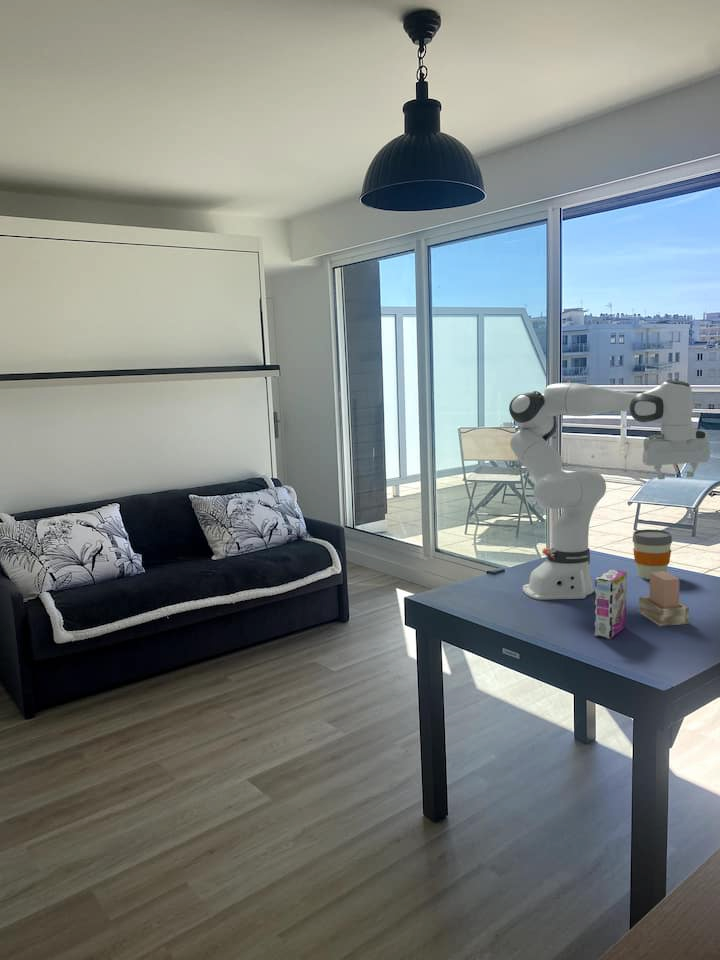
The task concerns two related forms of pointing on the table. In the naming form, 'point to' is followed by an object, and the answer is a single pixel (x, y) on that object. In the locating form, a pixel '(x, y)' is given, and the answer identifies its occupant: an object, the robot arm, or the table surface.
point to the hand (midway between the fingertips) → (675, 478)
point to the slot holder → (663, 613)
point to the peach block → (664, 590)
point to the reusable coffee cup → (651, 551)
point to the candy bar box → (610, 603)
